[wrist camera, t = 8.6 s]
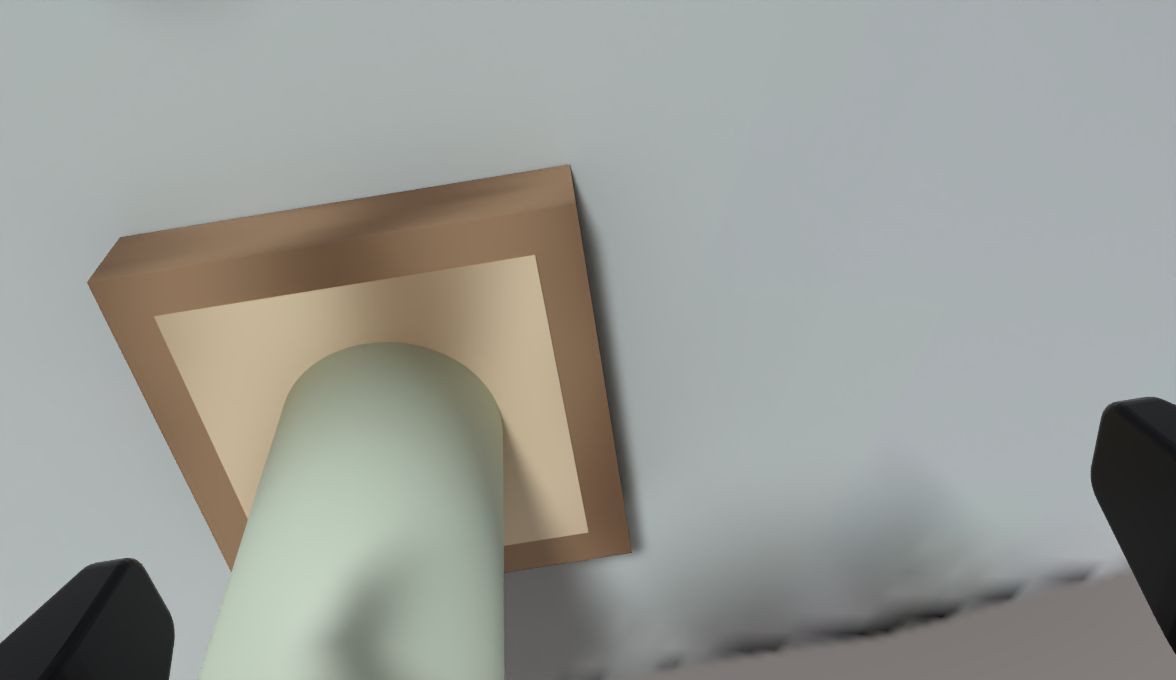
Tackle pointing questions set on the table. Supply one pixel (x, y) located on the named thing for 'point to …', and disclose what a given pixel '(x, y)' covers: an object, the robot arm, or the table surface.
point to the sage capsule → (373, 529)
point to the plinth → (380, 340)
